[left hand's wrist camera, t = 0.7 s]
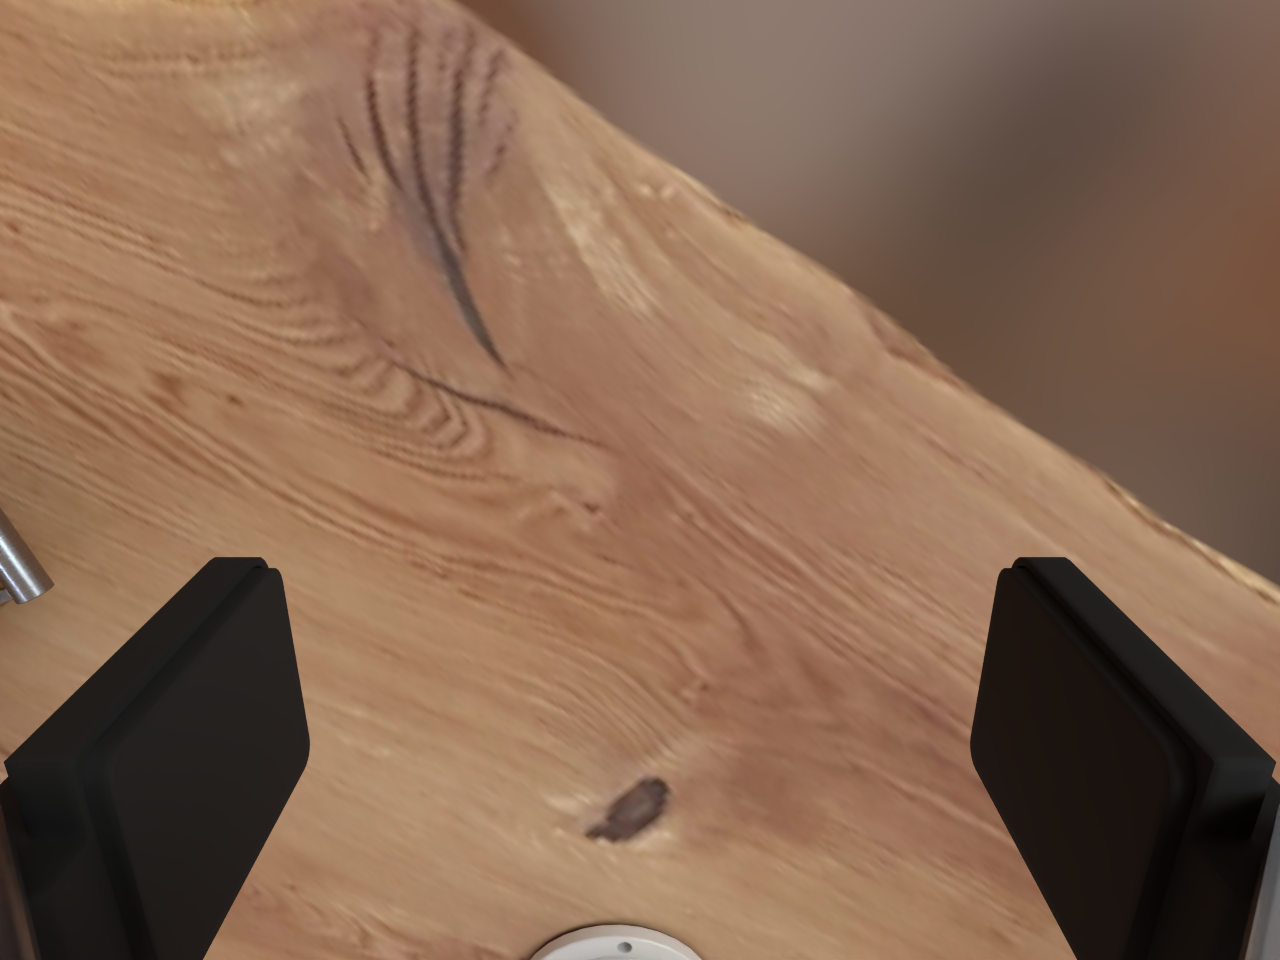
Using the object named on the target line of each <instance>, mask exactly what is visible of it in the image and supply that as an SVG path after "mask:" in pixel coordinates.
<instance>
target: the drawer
mask: <svg viewBox="0 0 1280 960" xmlns="http://www.w3.org/2000/svg"><path fill="white" fill-rule="evenodd" d="M53 586H54V583H53V581H52V580H51V579H50V577H49V576H48V574H47V573H46V571H45V570H44V569H43V567H42V566H41V564H40V563H39V562H38V560H37V559H36V557H35V556H34V555H33V553H32V552H31V550H30V549H29V547H28V546H27V545H26V543H25V542H24V540H23V539H22V538H21V536H20V535H19V533H18V532H17V530H16V529H15V528H14V526H13V525H12V523H11V522H10V521H9V519H8V518H7V516H6V515H5V513H4V512H3V511H2V509H1V508H0V607H2V606H3V605H5V604H6V603H7V602H9V601H10V600H13V599H14V601H15V602H16V604H22V603H25V602H28V601H30V600H32V599H34V598H36V597H38V596H40V595H42V594H43V593H45V592H47V591H48V590H49V589H51V588H52V587H53Z"/></svg>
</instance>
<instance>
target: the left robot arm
mask: <svg viewBox="0 0 1280 960" xmlns="http://www.w3.org/2000/svg"><path fill="white" fill-rule="evenodd" d="M309 750H310V739H309V732H308V726H307V720H306V715H305V709H304V703H303V697H302V691H301V685H300V679H299V674H298V668H297V662H296V656H295V650H294V644H293V638H292V633H291V627H290V621H289V615H288V609H287V603H286V597H285V591H284V586H283V580H282V576H281V574H280V572H279V570H277V569H276V568H268V565H267V563H266V562H265V560H264V559H262V558H261V557H215V558H213V559H212V560H210V561H209V562H208V563H207V564H206V565H205V566H204V567H203V568H202V569H201V570H200V571H199V572H198V573H197V574H196V575H195V576H194V577H193V578H192V579H191V580H189V581H188V582H187V583H186V584H185V585H184V586H183V587H182V588H181V589H180V590H179V591H178V592H177V593H176V594H175V595H174V596H173V597H172V598H171V599H170V600H169V601H168V602H167V603H166V604H165V605H164V606H163V607H162V608H161V609H160V610H159V611H158V612H157V613H156V614H155V615H154V616H153V617H152V618H151V619H150V620H149V621H148V622H147V623H145V624H144V625H143V626H142V627H141V628H140V629H139V630H138V631H137V632H136V633H135V634H134V635H133V636H132V637H131V638H130V639H129V640H128V641H127V642H126V643H125V644H124V645H123V646H122V647H121V648H120V649H119V650H118V651H117V652H116V653H115V654H114V655H113V656H112V657H111V658H110V659H109V660H108V661H107V662H106V663H105V664H104V665H103V666H101V667H100V668H99V669H98V670H97V671H96V672H95V673H94V674H93V675H92V676H91V677H90V678H89V679H88V680H87V681H86V682H85V683H84V684H83V685H82V686H81V687H80V688H79V689H78V690H77V691H76V692H75V693H74V694H73V695H72V696H71V697H70V698H69V699H68V700H67V701H66V702H65V703H64V704H63V705H62V706H61V707H60V708H59V709H57V710H56V711H55V712H54V713H53V714H52V715H51V716H50V717H49V718H48V719H47V720H46V721H45V722H44V723H43V724H42V725H41V726H40V727H39V728H38V729H37V730H36V731H35V732H34V733H33V734H32V735H31V736H30V737H29V738H28V739H27V740H26V741H25V742H24V743H23V744H22V745H21V746H20V747H19V748H18V749H17V750H16V751H15V752H13V753H12V754H11V755H10V756H9V757H8V758H7V759H6V760H5V761H4V764H5V767H6V770H7V773H8V777H7V778H6V779H5V780H4V781H3V782H2V783H1V784H0V960H203V958H204V957H205V955H206V953H207V951H208V949H209V947H210V945H211V943H212V942H213V940H214V938H215V936H216V934H217V932H218V930H219V928H220V927H221V925H222V923H223V921H224V919H225V917H226V915H227V913H228V912H229V910H230V908H231V906H232V904H233V902H234V900H235V898H236V897H237V895H238V893H239V891H240V889H241V887H242V885H243V883H244V882H245V880H246V878H247V876H248V874H249V872H250V870H251V868H252V867H253V865H254V863H255V861H256V859H257V857H258V855H259V853H260V852H261V850H262V848H263V846H264V844H265V842H266V840H267V838H268V837H269V835H270V833H271V831H272V829H273V827H274V825H275V823H276V822H277V820H278V818H279V816H280V814H281V812H282V810H283V808H284V807H285V805H286V803H287V801H288V799H289V797H290V795H291V793H292V792H293V790H294V788H295V786H296V784H297V782H298V780H299V778H300V777H301V775H302V773H303V771H304V769H305V767H306V764H307V761H308V757H309ZM970 750H971V757H972V761H973V764H974V767H975V769H976V771H977V773H978V775H979V777H980V778H981V780H982V782H983V784H984V786H985V788H986V790H987V792H988V793H989V795H990V797H991V799H992V801H993V803H994V805H995V807H996V808H997V810H998V812H999V814H1000V816H1001V818H1002V820H1003V822H1004V823H1005V825H1006V827H1007V829H1008V831H1009V833H1010V835H1011V837H1012V838H1013V840H1014V842H1015V844H1016V846H1017V848H1018V850H1019V852H1020V853H1021V855H1022V857H1023V859H1024V861H1025V863H1026V865H1027V867H1028V868H1029V870H1030V872H1031V874H1032V876H1033V878H1034V880H1035V882H1036V883H1037V885H1038V887H1039V889H1040V891H1041V893H1042V895H1043V897H1044V898H1045V900H1046V902H1047V904H1048V906H1049V908H1050V910H1051V912H1052V913H1053V915H1054V917H1055V919H1056V921H1057V923H1058V925H1059V927H1060V928H1061V930H1062V932H1063V934H1064V936H1065V938H1066V940H1067V942H1068V943H1069V945H1070V947H1071V949H1072V951H1073V953H1074V955H1075V957H1076V958H1077V960H1280V784H1279V783H1278V782H1277V781H1276V780H1275V779H1274V778H1273V777H1272V773H1273V770H1274V767H1275V764H1276V761H1275V760H1274V759H1273V758H1272V757H1271V756H1270V755H1269V754H1268V753H1267V752H1265V751H1264V750H1263V749H1262V748H1261V747H1260V746H1259V745H1258V744H1257V743H1256V742H1255V741H1254V740H1253V739H1252V738H1251V737H1250V736H1249V735H1248V734H1247V733H1246V732H1245V731H1244V730H1243V729H1242V728H1241V727H1240V726H1239V725H1238V724H1237V723H1236V722H1235V721H1234V720H1233V719H1232V718H1231V717H1230V716H1229V715H1228V714H1227V713H1226V712H1225V711H1224V710H1223V709H1221V708H1220V707H1219V706H1218V705H1217V704H1216V703H1215V702H1214V701H1213V700H1212V699H1211V698H1210V697H1209V696H1208V695H1207V694H1206V693H1205V692H1204V691H1203V690H1202V689H1201V688H1200V687H1199V686H1198V685H1197V684H1196V683H1195V682H1194V681H1193V680H1192V679H1191V678H1190V677H1189V676H1188V675H1187V674H1186V673H1185V672H1184V671H1183V670H1182V669H1181V668H1180V667H1179V666H1177V665H1176V664H1175V663H1174V662H1173V661H1172V660H1171V659H1170V658H1169V657H1168V656H1167V655H1166V654H1165V653H1164V652H1163V651H1162V650H1161V649H1160V648H1159V647H1158V646H1157V645H1156V644H1155V643H1154V642H1153V641H1152V640H1151V639H1150V638H1149V637H1148V636H1147V635H1146V634H1145V633H1144V632H1143V631H1142V630H1141V629H1140V628H1139V627H1138V626H1137V625H1136V624H1135V623H1133V622H1132V621H1131V620H1130V619H1129V618H1128V617H1127V616H1126V615H1125V614H1124V613H1123V612H1122V611H1121V610H1120V609H1119V608H1118V607H1117V606H1116V605H1115V604H1114V603H1113V602H1112V601H1111V600H1110V599H1109V598H1108V597H1107V596H1106V595H1105V594H1104V593H1103V592H1102V591H1101V590H1100V589H1099V588H1098V587H1097V586H1096V585H1095V584H1094V583H1093V582H1092V581H1091V580H1089V579H1088V578H1087V577H1086V576H1085V575H1084V574H1083V573H1082V572H1081V571H1080V570H1079V569H1078V568H1077V567H1076V566H1075V565H1074V564H1073V563H1072V562H1071V561H1070V560H1068V559H1067V558H1065V557H1019V558H1018V559H1016V560H1015V562H1014V563H1013V565H1012V568H1004V569H1003V570H1001V572H1000V574H999V576H998V580H997V586H996V591H995V597H994V603H993V609H992V615H991V621H990V627H989V632H988V638H987V644H986V650H985V656H984V662H983V668H982V674H981V679H980V685H979V691H978V697H977V703H976V709H975V715H974V720H973V726H972V732H971V739H970ZM530 960H702V959H701V958H700V957H699V956H698V955H697V954H696V953H695V952H693V951H692V950H691V949H690V948H689V947H687V946H686V945H684V944H683V943H681V942H680V941H678V940H677V939H674V938H672V937H670V936H668V935H665V934H663V933H661V932H658V931H654V930H651V929H647V928H643V927H638V926H629V925H600V926H594V927H588V928H583V929H580V930H577V931H574V932H571V933H568V934H565V935H563V936H561V937H559V938H557V939H555V940H553V941H552V942H550V943H548V944H547V945H545V946H544V947H543V948H542V949H540V950H539V951H538V952H537V953H535V955H534V956H533V957H532V958H531V959H530Z"/></svg>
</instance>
